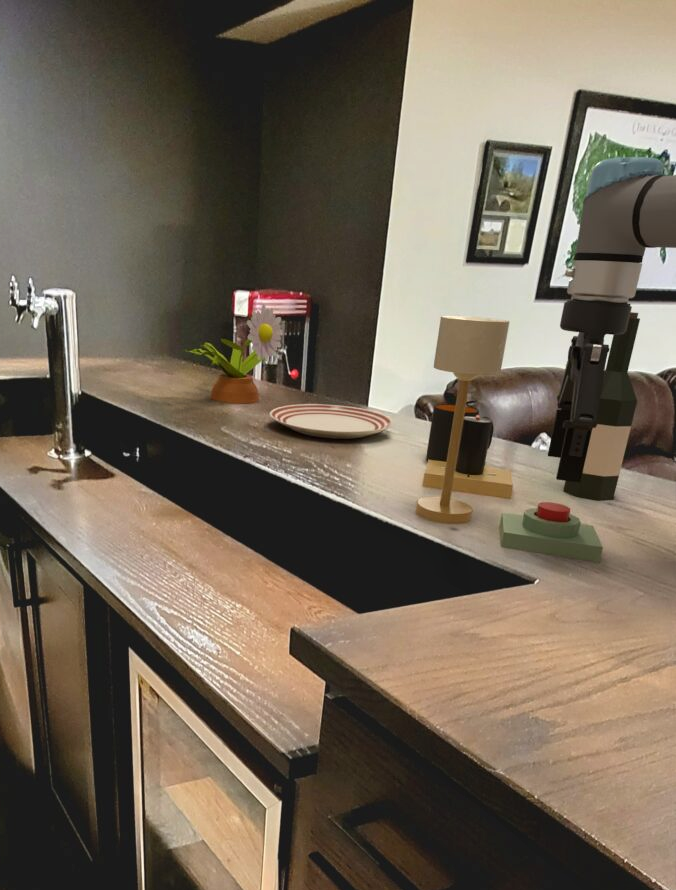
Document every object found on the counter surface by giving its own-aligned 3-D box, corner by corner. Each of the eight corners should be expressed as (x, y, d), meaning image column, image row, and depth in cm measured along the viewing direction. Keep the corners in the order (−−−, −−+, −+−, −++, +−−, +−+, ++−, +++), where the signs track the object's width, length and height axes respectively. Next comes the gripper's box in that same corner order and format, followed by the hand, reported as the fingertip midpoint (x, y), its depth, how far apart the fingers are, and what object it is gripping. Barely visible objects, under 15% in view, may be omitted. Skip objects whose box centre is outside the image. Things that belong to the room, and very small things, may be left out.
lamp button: (566, 516, 99) (568, 504, 98) (569, 525, 95) (572, 513, 94) (534, 512, 100) (537, 500, 99) (536, 521, 96) (539, 508, 96)
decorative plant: (233, 410, 177) (240, 304, 169) (167, 394, 192) (169, 297, 184) (300, 400, 196) (309, 304, 188) (234, 387, 211) (240, 298, 203)
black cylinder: (483, 476, 120) (493, 421, 117) (453, 472, 122) (462, 418, 119) (483, 469, 125) (492, 416, 122) (454, 466, 126) (463, 413, 123)
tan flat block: (508, 483, 127) (511, 469, 126) (510, 499, 118) (513, 483, 117) (426, 472, 131) (428, 458, 130) (422, 487, 122) (424, 472, 121)
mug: (495, 468, 136) (505, 414, 133) (433, 465, 136) (442, 411, 132) (479, 457, 144) (488, 406, 141) (420, 454, 144) (428, 403, 140)
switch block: (589, 540, 101) (596, 513, 100) (599, 563, 93) (606, 534, 91) (499, 526, 104) (504, 500, 103) (500, 547, 96) (506, 519, 95)
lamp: (474, 511, 111) (508, 319, 101) (473, 529, 103) (510, 322, 93) (414, 502, 113) (442, 314, 104) (409, 519, 105) (439, 317, 96)
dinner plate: (365, 451, 144) (367, 434, 143) (246, 429, 157) (247, 414, 156) (408, 430, 166) (410, 415, 165) (301, 412, 179) (302, 399, 178)
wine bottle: (553, 490, 124) (592, 310, 114) (574, 483, 129) (613, 310, 120) (603, 503, 118) (648, 314, 108) (622, 495, 124) (667, 314, 114)
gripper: (556, 295, 100) (527, 445, 107) (577, 299, 78) (538, 487, 85) (615, 299, 98) (582, 451, 105) (654, 304, 76) (608, 497, 83)
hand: (562, 468), depth 95 cm, fingers open, 13 cm apart
